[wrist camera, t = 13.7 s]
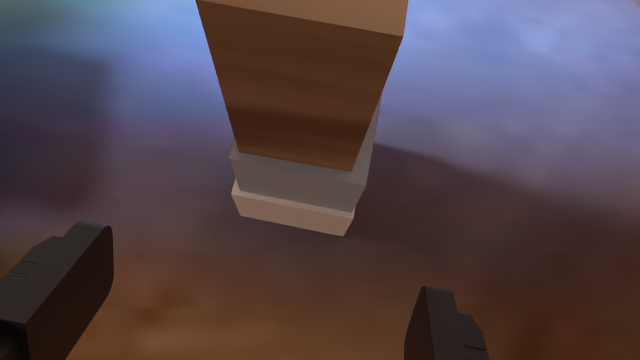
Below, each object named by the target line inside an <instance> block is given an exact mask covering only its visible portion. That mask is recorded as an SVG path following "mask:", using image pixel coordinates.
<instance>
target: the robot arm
mask: <svg viewBox="0 0 640 360" xmlns="http://www.w3.org/2000/svg"><path fill="white" fill-rule="evenodd" d="M113 277H114V264H113V234H112V229H111V227H110V226H108V225H102V224H97V223H92V222H86V221H78V222H76V223H75V224H74V225H73V226H72V228H71V229H70V230H69V231H68V232H67V233H66V234H65V235H64V236H63V237H57V236H52V237H51V238H49V239H47V240H45V241H43V242H41V243H39V244H37V245H35V246H34V247H33V248H32V249H31V250H30V251H29V252H28V253H27V254H26V255H25V256H24V257H23V258H22V259H21V260H20V263H17V264H16V265H15V266H14V267H13V268H12V269H11V270H10V271H9V274H6V275H5V276H4V277H3V278H2V279H1V280H0V360H65V359H66V358H67V356H68V355H69V353H70V352H71V350H72V349H73V347H74V346H75V344H76V343H77V341H78V340H79V338H80V337H81V335H82V334H83V332H84V331H85V329H86V328H87V326H88V325H89V323H90V322H91V320H92V319H93V317H94V316H95V314H96V313H97V311H98V310H99V308H100V307H101V305H102V304H103V302H104V301H105V299H106V298H107V296H108V294H109V292H110V289H111V286H112V282H113ZM486 350H487V349H486V345H485V341H484V336H483V332H482V331H481V329H480V328H479V327H478V325H477V324H476V322H475V321H474V320H473V318H472V317H471V315H465V314H460V313H457V308H456V303H455V298H454V294H453V292H452V291H448V290H442V289H437V288H432V287H426V286H423V287H422V288H421V290H420V292H419V295H418V298H417V301H416V305H415V308H414V311H413V314H412V317H411V320H410V323H409V326H408V329H407V333H406V338H405V345H404V360H489V357H488V353H486Z"/></svg>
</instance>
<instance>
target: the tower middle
mask: <svg viewBox="0 0 640 360" xmlns="http://www.w3.org/2000/svg"><path fill="white" fill-rule="evenodd" d="M381 96H382V93H381ZM381 96H380V99H379V101H378V104H377V106H376V109H375V112H374V114H373V117H372V120H371V122H370V125H369V127H368V130H367V133H366V135H365V138H364V140H363V143H362V146H361V148H360V151H359V154H358V156H357V159H356V161H355V164H354V167H353V169H352V172H348V171H343V170H337V169H331V168H326V167H320V166H314V165H309V164H303V163H297V162H292V161H286V160H280V159H275V158H269V157H263V156H258V155H252V154H246V153H241V152H239V151H238V147H237V144H236V140H235V137H234V139H233V143H232V147H231V151H230V155H229V161H230V164H231V167H232V169H233V172H234V175H235V178H236V181H237V184H238V187H239V189H240V191H243V192H248V193H253V194H258V195H263V196H268V197H273V198H279V199H284V200H289V201H294V202H299V203H304V204H309V205H314V206H319V207H324V208H329V209H334V210H339V211H344V212H350V213H352V212H353V210H354V208H355V206H356V204H357V202H358V200H359V199H360V197H361V195H362V193H363V191H364V189H365V187H366V184H367V179H368V173H369V167H370V161H371V155H372V149H373V143H374V137H375V132H376V126H377V120H378V114H379V108H380V102H381Z"/></svg>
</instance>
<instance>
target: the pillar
mask: <svg viewBox="0 0 640 360" xmlns="http://www.w3.org/2000/svg"><path fill="white" fill-rule="evenodd" d="M196 4H197V7H198V11H199V14H200V18H201V21H202V25H203V28H204V32H205V35H206V39H207V42H208V46H209V49H210V53H211V56H212V60H213V63H214V67H215V70H216V74H217V77H218V81H219V84H220V88H221V91H222V95H223V98H224V102H225V105H226V109H227V112H228V116H229V119H230V123H231V126H232V130H233V133H234V137H235V140H236V144H237V147H238V151H239V152H241V153H246V154H252V155H258V156H263V157H269V158H275V159H280V160H286V161H292V162H297V163H303V164H309V165H314V166H320V167H326V168H331V169H337V170H343V171H348V172H352V169H353V167H354V164H355V161H356V159H357V156H358V154H359V151H360V148H361V146H362V143H363V140H364V138H365V135H366V133H367V130H368V127H369V125H370V122H371V120H372V117H373V114H374V112H375V109H376V106H377V104H378V101H379V99H380V96H381V93H382V91H383V88H384V86H385V83H386V80H387V78H388V75H389V72H390V70H391V67H392V65H393V62H394V59H395V57H396V54H397V52H398V49H399V46H400V44H401V41H402V38H403V35H404V28H405V20H406V13H407V6H408V0H196Z"/></svg>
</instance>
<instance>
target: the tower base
mask: <svg viewBox="0 0 640 360" xmlns="http://www.w3.org/2000/svg"><path fill="white" fill-rule="evenodd" d="M231 195H232V197H233V200H234V202H235V204H236V207H237V209H238V211H239V214H240V216H244V217H249V218H254V219H259V220H264V221H269V222H274V223H279V224H284V225H289V226H293V227H298V228H303V229H308V230H313V231H318V232H323V233H328V234H333V235H338V236H344V235H345V233H346V231H347V229H348V227H349V226H350V224H351V222H352V220H353V218H354V213H355V208H354V210H353V212H352V213H350V212H344V211H339V210H334V209H329V208H324V207H319V206H314V205H309V204H304V203H299V202H294V201H289V200H284V199H279V198H273V197H268V196H263V195H258V194H253V193H248V192H243V191H240V189H239V187H238V184H237V181H236V178H235V181H234V185H233V189H232V193H231ZM355 207H356V206H355Z"/></svg>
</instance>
